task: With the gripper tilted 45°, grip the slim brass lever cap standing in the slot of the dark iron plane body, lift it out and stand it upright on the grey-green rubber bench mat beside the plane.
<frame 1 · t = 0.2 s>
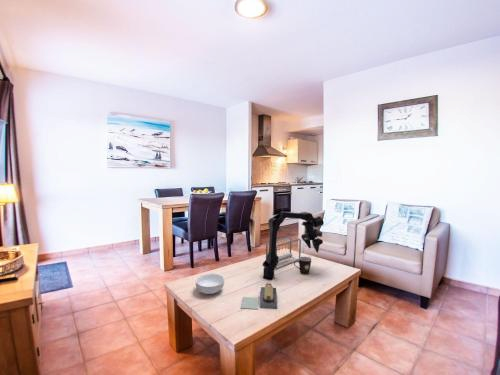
hand: (313, 250, 177), 15 cm above the table, tool pointing down, fingers open, 9 cm apart
plane body: (268, 304, 134), on the table
bench mat: (249, 303, 134), on the table
newton's cradle: (283, 263, 193), on the table
cereal bowl: (209, 291, 147), on the table
lever cap: (268, 304, 134), resting in plane body
coffee mug: (302, 272, 176), on the table
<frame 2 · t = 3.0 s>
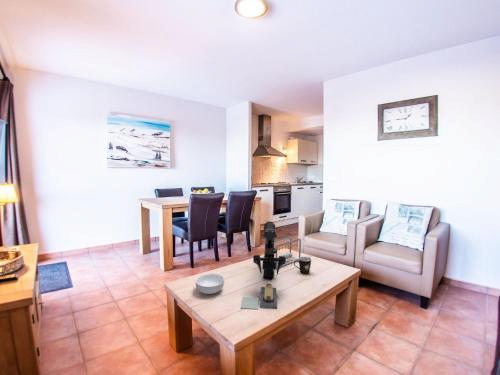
hand: (269, 273, 140), 13 cm above the table, tool tilted 45°, fingers open, 9 cm apart
nothing on the table moved.
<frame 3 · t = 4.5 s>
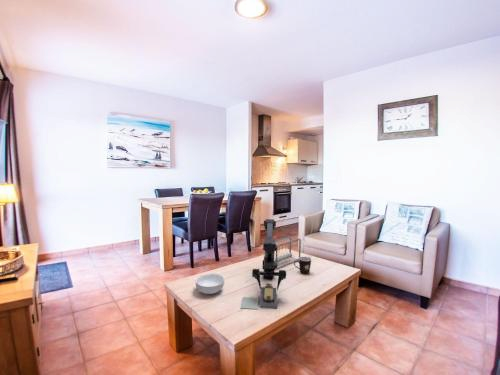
hand: (268, 289, 133), 8 cm above the table, tool tilted 45°, fingers open, 9 cm apart
nothing on the table moved.
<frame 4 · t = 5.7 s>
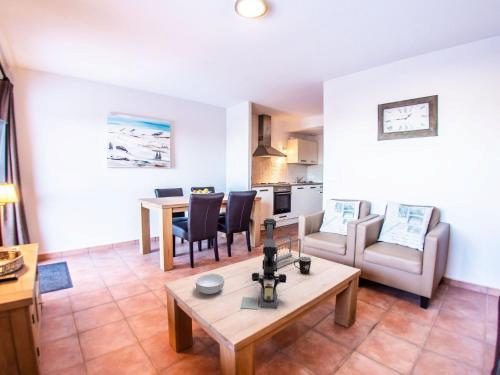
hand: (268, 293, 132), 7 cm above the table, tool tilted 45°, fingers closed on lever cap, 4 cm apart
lever cap: (268, 304, 134), resting in plane body, touching gripper
everything else where it was.
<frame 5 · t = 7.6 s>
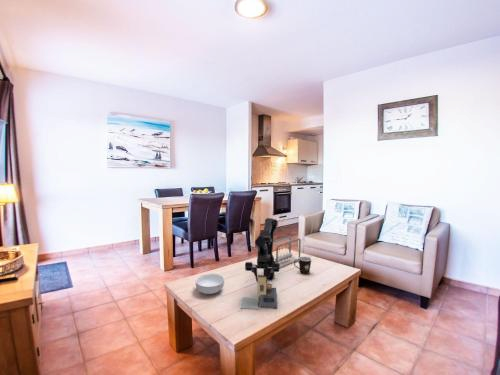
hand: (261, 282, 132), 13 cm above the table, tool tilted 45°, fingers closed on lever cap, 4 cm apart
lever cap: (261, 293, 133), point 6 cm above the table, touching gripper
everything else where it was.
when the fingers open (8 cm above the table, at t = 9.5 s): lever cap stays where it is, resting on bench mat.
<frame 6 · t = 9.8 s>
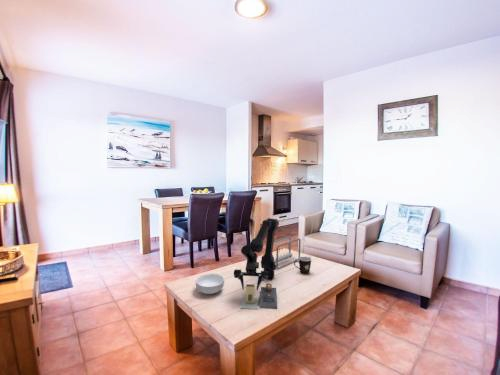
hand: (249, 290, 132), 8 cm above the table, tool tilted 45°, fingers open, 7 cm apart
lever cap: (250, 302, 134), resting on bench mat
everything else where it was.
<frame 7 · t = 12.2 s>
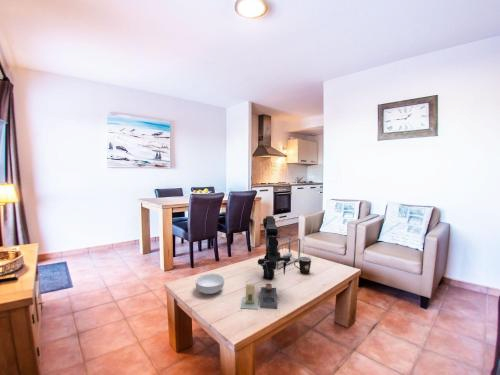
hand: (276, 275, 143), 11 cm above the table, tool tilted 20°, fingers open, 9 cm apart
nothing on the table moved.
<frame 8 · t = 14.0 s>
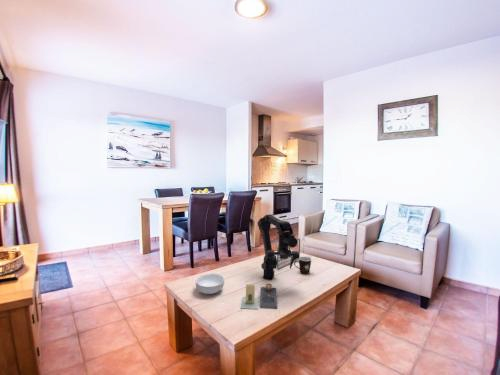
hand: (282, 267, 150), 13 cm above the table, tool pointing down, fingers open, 9 cm apart
nothing on the table moved.
at the end: lever cap 0.1 cm from the bench mat (horizontally); lever cap tilted 0°; the gripper is holding nothing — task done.
